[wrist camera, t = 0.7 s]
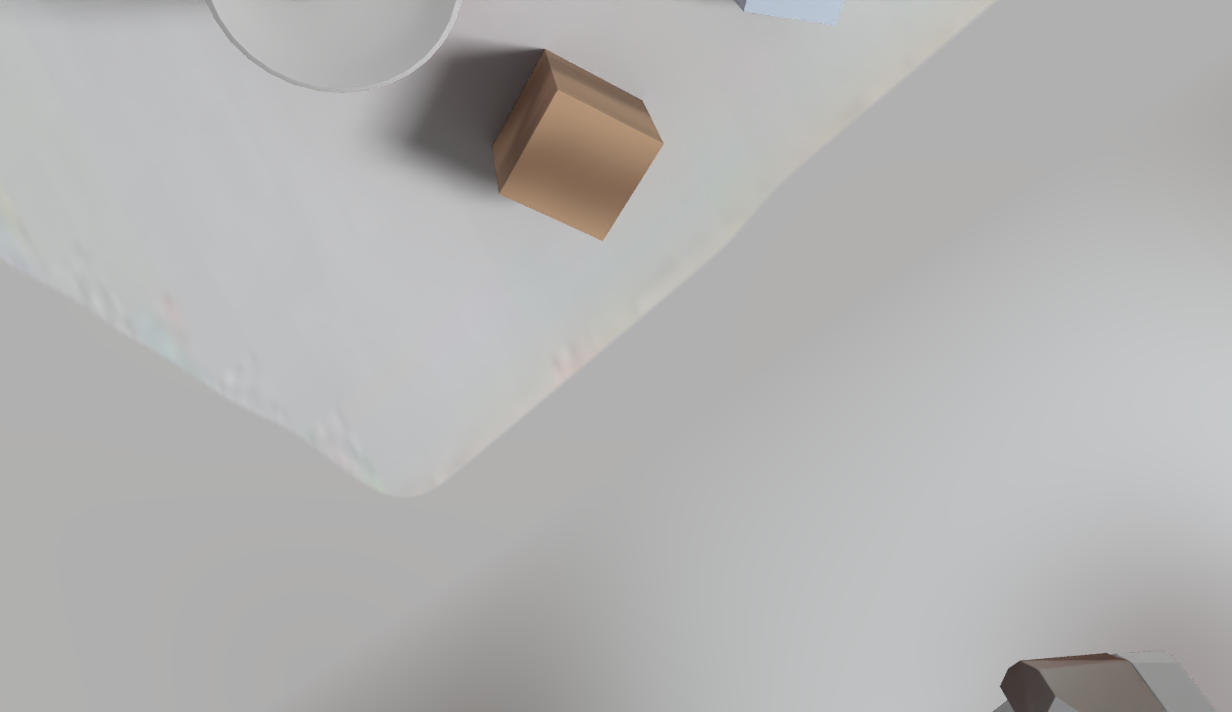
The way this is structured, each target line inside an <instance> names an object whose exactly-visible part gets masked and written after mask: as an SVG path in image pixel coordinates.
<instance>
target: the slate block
mask: <svg viewBox="0 0 1232 712" xmlns="http://www.w3.org/2000/svg"><path fill="white" fill-rule="evenodd" d="M734 1H735V2H736V3H737V4H738V6H739V7H740V8H741V9H742V10H743V11H744V12H751V13H757V14H764V15H770V16H777V17H784V18H790V19H797V20H803V21H810V22H816V23H823V24H830V25H836V26H837V22H838V19H839V16H840V12H841V9H842V5H843V2H844V0H734Z"/></svg>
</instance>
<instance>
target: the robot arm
mask: <svg viewBox="0 0 1232 712" xmlns="http://www.w3.org/2000/svg"><path fill="white" fill-rule="evenodd" d="M1000 687H1001V689H1002V691H1003V693H1004V695H1005V696H1006V698H1007V701H1006V702H1004V703H1003V704H1002V705H1001V706H999V707H998V708H997V709H996V710H994V711H993V712H1218V711H1217V710H1216V709H1215V707H1214V706H1213V705H1212V704H1211V702H1210V701H1209V700H1208V698H1207V697H1206V696H1205V695H1204V693H1203V692H1202V691H1201V690H1200V688H1199V687H1198V686H1197V684H1196V683H1195V682H1194V680H1193V679H1192V678H1191V677H1190V675H1189V674H1188V673H1187V671H1186V670H1185V669H1184V668H1183V666H1182V665H1181V664H1180V663H1179V662H1178V661H1177V660H1176V659H1175V658H1173V657H1172V656H1170V655H1169V654H1167V653H1166V652H1164V651H1143V652H1131V653H1119V654H1111V655H1110V654H1108V653H1102V654H1089V655H1080V656H1079V655H1078V656H1067V657H1055V658H1044V659H1032V660H1021V661H1019V662H1017V663H1016V664H1014V665H1013V666H1011V667H1010V668H1009V669H1008V670H1007V672H1006V674H1005V677H1004V679H1003V681H1002V683H1001V685H1000Z"/></svg>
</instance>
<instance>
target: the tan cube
mask: <svg viewBox="0 0 1232 712" xmlns="http://www.w3.org/2000/svg"><path fill="white" fill-rule="evenodd" d="M662 146H663V142H662V140H661V138H660V135H659V133H658V131H657V129H656V127H655V125H654V123H653V121H652V119H651V117H650V115H649V113H648V111H647V109H646V107H645V105H644V103H643V101H642V100H640V99H639V98H637V97H635V96H633V95H631V94H629V93H627V92H625V91H623V90H622V89H620V88H618V87H616V86H614V85H612V84H610V83H608V82H606V81H605V80H603V79H601V78H599V77H597V76H595V75H593V74H591V73H589V72H587V71H586V70H584V69H582V68H580V67H578V66H576V65H574V64H572V63H570V62H569V61H567V60H565V59H563V58H561V57H559V56H557V55H555V54H553V53H552V52H550V51H548V50H546V49H545V50H544V52H543V53H542V55H541V57H540V59H539V61H538V63H537V64H536V66H535V68H534V70H533V72H532V74H531V75H530V77H529V79H528V81H527V83H526V85H525V86H524V88H523V90H522V92H521V94H520V96H519V97H518V99H517V101H516V103H515V105H514V107H513V108H512V110H511V112H510V114H509V116H508V118H507V119H506V121H505V123H504V125H503V127H502V129H501V130H500V132H499V134H498V136H497V138H496V140H495V142H494V143H493V145H492V150H493V157H494V163H495V169H496V176H497V182H498V188H499V194H501V195H503V196H505V197H507V198H510V199H512V200H514V201H516V202H518V203H521V204H523V205H525V206H527V207H529V208H532V209H534V210H536V211H538V212H540V213H543V214H545V215H547V216H549V217H551V218H554V219H556V220H558V221H560V222H562V223H565V224H567V225H569V226H571V227H573V228H575V229H578V230H580V231H582V232H584V233H586V234H589V235H591V236H593V237H595V238H597V239H600V240H602V241H603V240H604V238H605V237H606V235H607V233H608V232H609V230H610V229H611V227H612V225H613V224H614V222H615V221H616V219H617V217H618V216H619V214H620V213H621V211H622V209H623V208H624V206H625V205H626V203H627V201H628V200H629V198H630V197H631V195H632V193H633V192H634V190H635V189H636V187H637V186H638V184H639V182H640V181H641V179H642V178H643V176H644V174H645V173H646V171H647V170H648V168H649V166H650V165H651V163H652V162H653V160H654V158H655V157H656V155H657V154H658V152H659V150H660V149H661V147H662Z"/></svg>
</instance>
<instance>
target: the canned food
mask: <svg viewBox="0 0 1232 712" xmlns="http://www.w3.org/2000/svg"><path fill="white" fill-rule="evenodd" d="M206 2H207V4H208V6H209V8H210V10H211V12H212V15H213V17H214V19H215V20H216V22H217V23H218V25H219V26H220V27H221V29H222V30H223V32H224V33H225V34H226V36H227V37H228V39H229V40H230V41H231V42H232V43H233V44H234V45H235V46H236V47H237V48H238V49H239V50H240V51H241V52H242V53H243V54H244V55H245V56H246V57H247V58H248V59H250V60H251V61H252V62H254V63H255V64H257V65H258V66H260V67H261V68H263V69H264V70H266V71H267V72H269V73H270V74H272V75H274V76H276V77H279V78H281V79H283V80H285V81H287V82H290V83H292V84H294V85H298V86H302V87H306V88H309V89H313V90H317V91H327V92H338V93H347V92H358V91H367V90H371V89H374V88H378V87H382V86H385V85H389V84H391V83H393V82H395V81H397V80H399V79H401V78H403V77H405V76H407V75H409V74H411V73H412V72H414V71H415V70H416V69H417V68H419V67H420V66H421V65H423V64H424V63H425V62H426V61H428V60H429V59H430V58H431V57H432V55H433V54H434V53H435V52H436V51H437V50H438V48H439V47H440V46H441V45H442V44H443V43H444V41H445V39H446V38H447V36H448V34H449V32H450V30H451V29H452V27H453V25H454V23H455V21H456V18H457V15H458V11H459V8H460V5H461V2H462V0H206Z"/></svg>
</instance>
